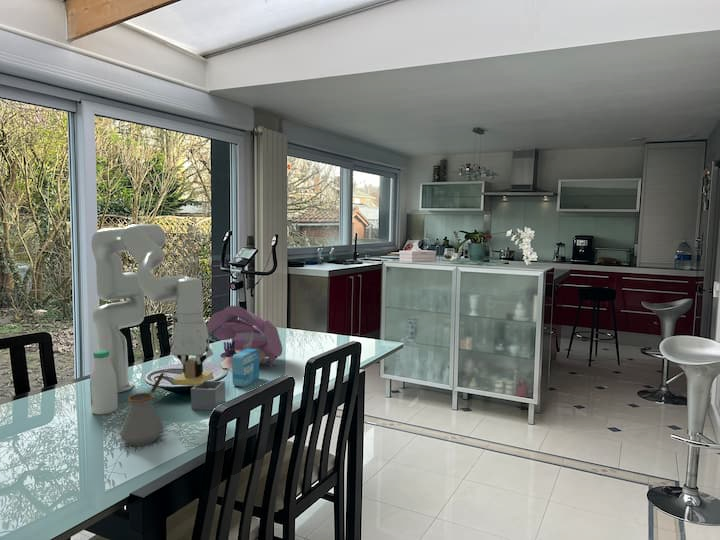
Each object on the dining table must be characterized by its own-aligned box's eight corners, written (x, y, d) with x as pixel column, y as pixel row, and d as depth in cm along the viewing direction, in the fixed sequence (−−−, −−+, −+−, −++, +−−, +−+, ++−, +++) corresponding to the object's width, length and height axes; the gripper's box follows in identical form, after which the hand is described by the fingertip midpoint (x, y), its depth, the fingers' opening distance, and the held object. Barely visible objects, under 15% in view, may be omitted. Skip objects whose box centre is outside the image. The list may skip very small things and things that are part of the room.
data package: (242, 388, 189) (242, 356, 188) (232, 386, 191) (231, 355, 189) (259, 378, 200) (258, 348, 199) (249, 377, 202) (248, 347, 200)
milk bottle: (123, 407, 171) (119, 349, 168) (104, 416, 163) (101, 355, 161) (105, 404, 173) (101, 347, 171) (86, 413, 166) (82, 353, 163)
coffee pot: (152, 449, 141) (150, 397, 139) (112, 448, 142) (109, 396, 140) (183, 418, 162) (181, 372, 160) (148, 417, 163) (146, 371, 161)
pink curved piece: (200, 379, 214) (184, 317, 206) (226, 353, 236) (212, 296, 228) (278, 377, 206) (264, 312, 198) (297, 350, 228) (285, 291, 220)
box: (191, 409, 169) (190, 388, 168) (202, 399, 178) (201, 380, 177) (215, 410, 168) (215, 389, 167) (225, 400, 177) (224, 381, 176)
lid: (173, 386, 157) (172, 363, 156) (186, 377, 165) (185, 355, 165) (201, 387, 156) (200, 364, 155) (212, 378, 164) (211, 356, 164)
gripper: (159, 319, 155) (162, 378, 158) (211, 320, 154) (213, 380, 156) (171, 314, 163) (174, 371, 165) (220, 315, 161) (222, 372, 163)
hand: (193, 374), depth 160 cm, fingers closed on lid, 3 cm apart
